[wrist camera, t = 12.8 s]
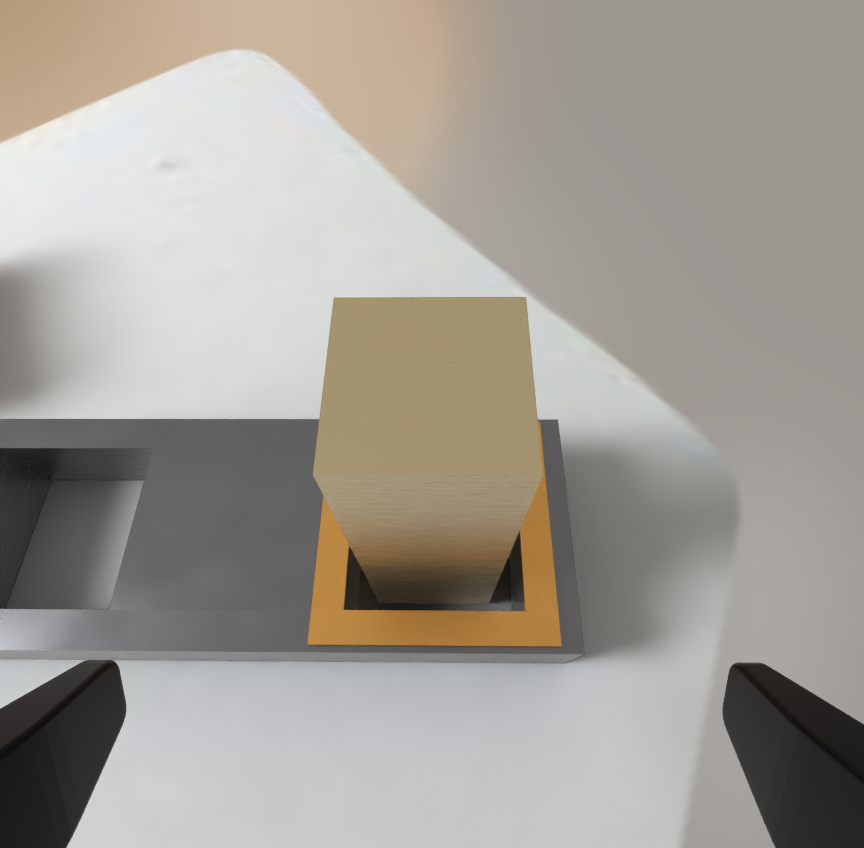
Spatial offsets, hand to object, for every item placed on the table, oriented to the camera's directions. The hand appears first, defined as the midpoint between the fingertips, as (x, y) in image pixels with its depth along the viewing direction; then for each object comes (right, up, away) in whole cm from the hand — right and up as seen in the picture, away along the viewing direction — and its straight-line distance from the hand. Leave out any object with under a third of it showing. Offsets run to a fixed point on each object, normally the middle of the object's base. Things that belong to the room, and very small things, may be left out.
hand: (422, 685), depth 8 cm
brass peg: (0, -1, +13) cm, 13 cm away
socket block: (-6, -1, +13) cm, 15 cm away
